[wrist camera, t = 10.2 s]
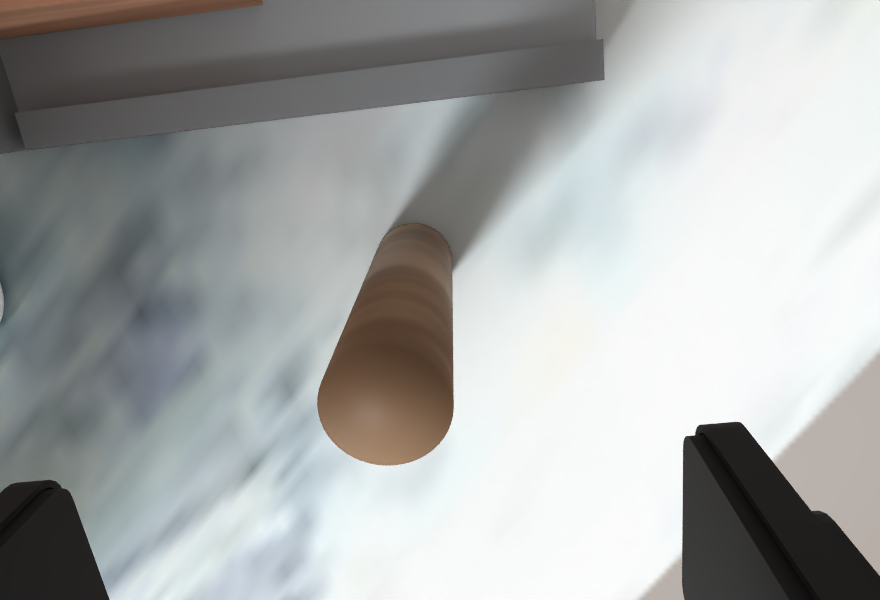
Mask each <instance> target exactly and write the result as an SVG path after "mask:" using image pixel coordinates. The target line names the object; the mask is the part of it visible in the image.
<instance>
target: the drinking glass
mask: <svg viewBox="0 0 880 600" xmlns="http://www.w3.org/2000/svg"><path fill="white" fill-rule="evenodd" d="M3 311H4V296H3V290H2V286H1V283H0V322H1V319H2V316H3Z"/></svg>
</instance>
